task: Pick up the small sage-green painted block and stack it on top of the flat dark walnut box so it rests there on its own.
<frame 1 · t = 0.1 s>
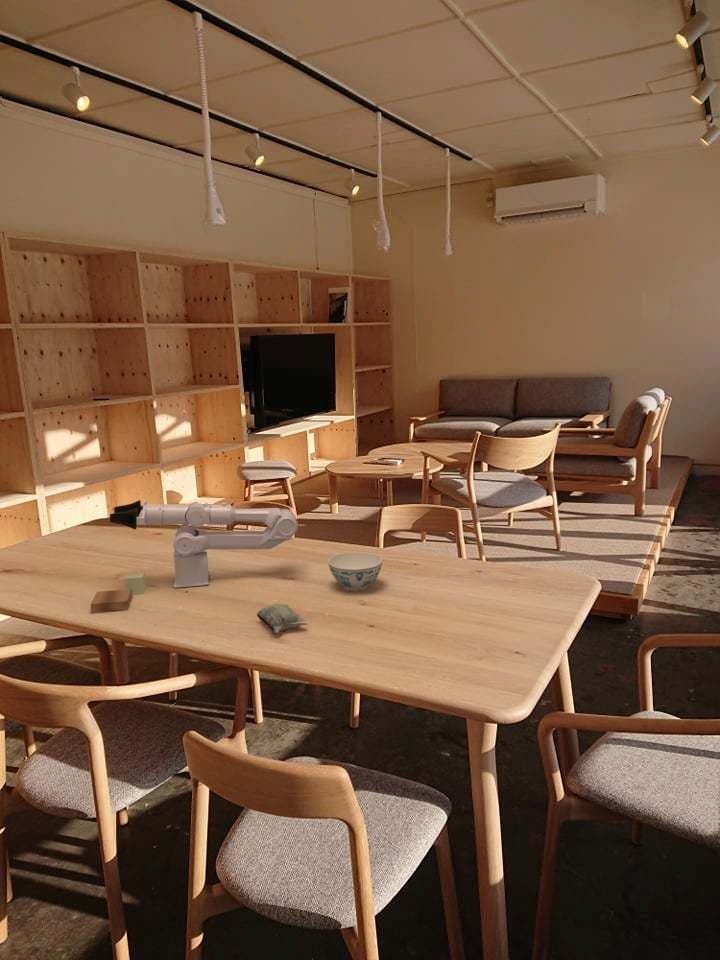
hand: (112, 514, 192), 22 cm above the table, fingers open, 7 cm apart
walnut box: (112, 607, 184), on the table
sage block: (136, 592, 194), on the table
packaged food: (282, 627, 169), on the table
chinaware: (356, 587, 194), on the table
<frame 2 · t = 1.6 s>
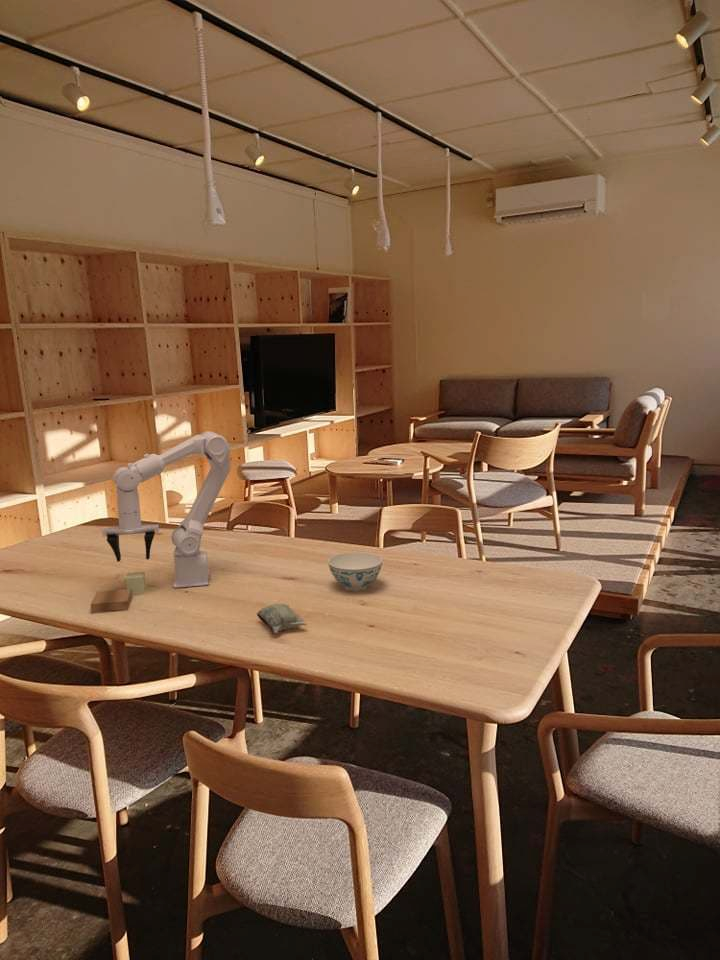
hand: (133, 559, 192), 9 cm above the table, fingers open, 7 cm apart
nothing on the table moved.
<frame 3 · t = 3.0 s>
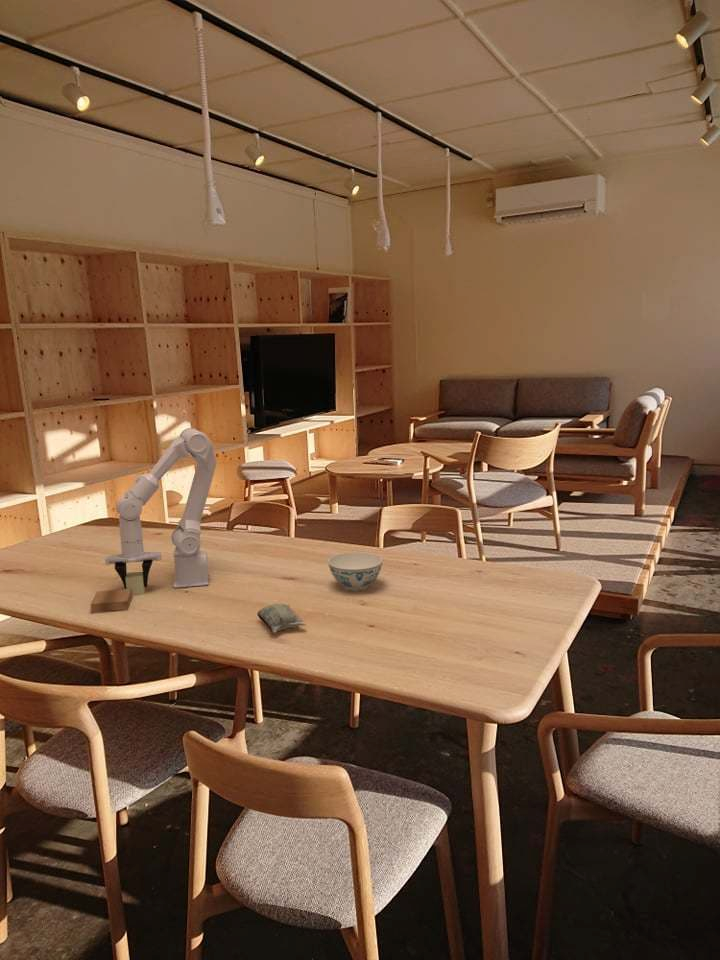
hand: (136, 587, 194), 1 cm above the table, fingers closed on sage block, 4 cm apart
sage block: (136, 591, 194), on the table, touching gripper
everything else where it was.
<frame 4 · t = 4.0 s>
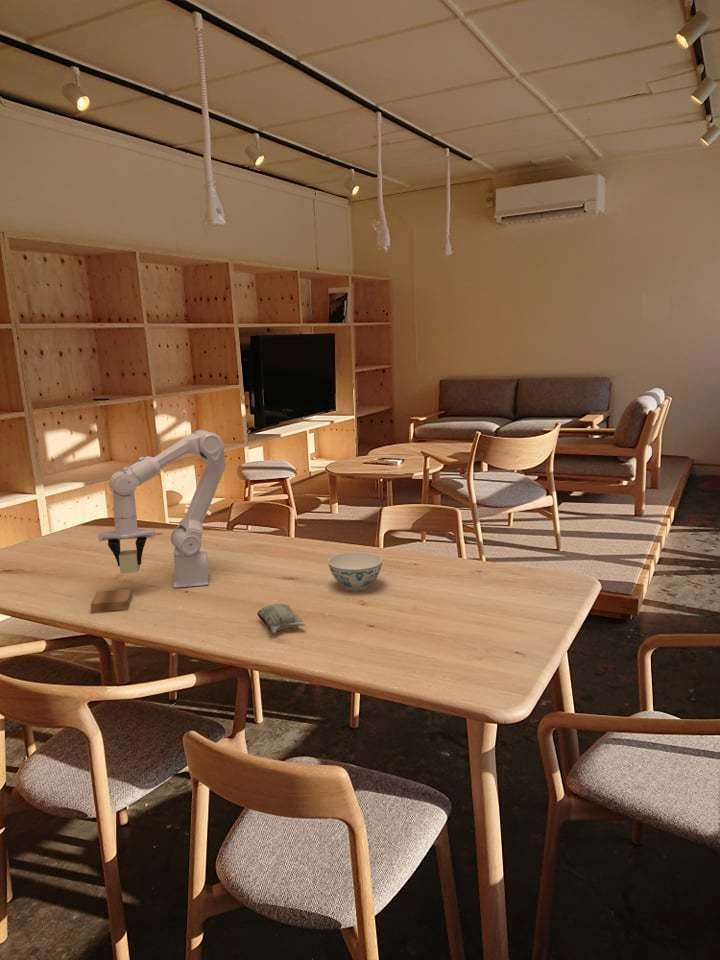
hand: (129, 564, 191), 8 cm above the table, fingers closed on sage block, 4 cm apart
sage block: (130, 570, 191), point 7 cm above the table, touching gripper
everything else where it was.
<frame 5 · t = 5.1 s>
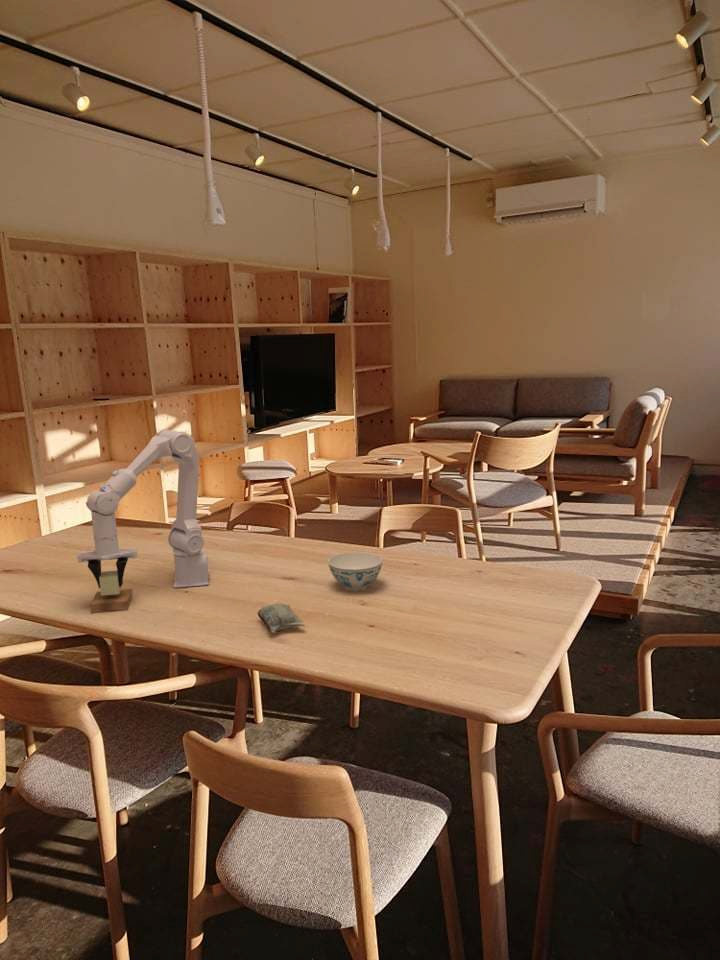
hand: (110, 586, 183), 5 cm above the table, fingers closed on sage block, 4 cm apart
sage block: (111, 591, 184), point 4 cm above the table, touching gripper
everything else where it was.
when the fingers open (5 cm above the table, at t = 5.4 s): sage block drops 1 cm, resting on walnut box.
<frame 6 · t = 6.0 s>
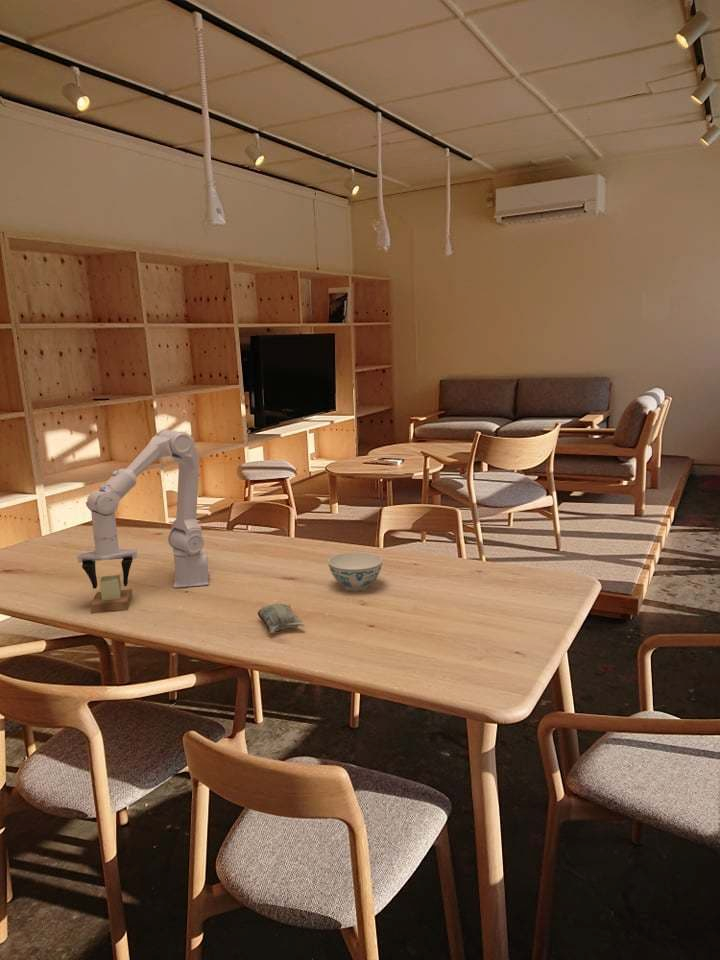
hand: (110, 586, 183), 5 cm above the table, fingers open, 7 cm apart
walnut box: (112, 607, 184), on the table, touching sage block
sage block: (111, 596, 184), point 2 cm above the table, touching walnut box
everything else where it was.
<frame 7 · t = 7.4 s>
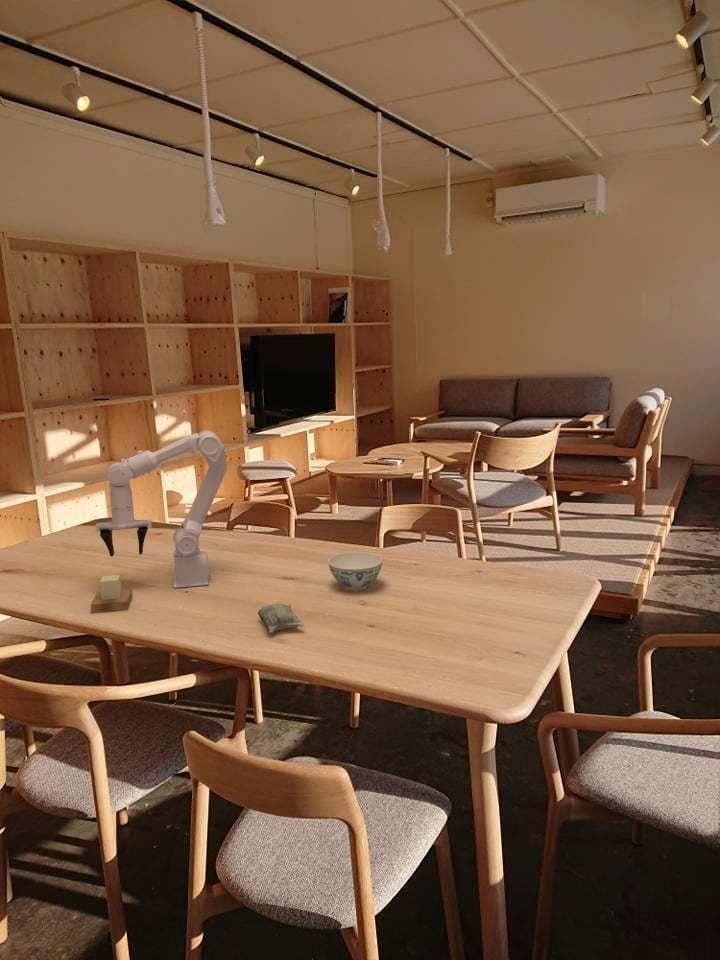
hand: (126, 554, 193), 10 cm above the table, fingers open, 7 cm apart
walnut box: (112, 607, 184), on the table
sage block: (111, 596, 184), point 2 cm above the table
everything else where it was.
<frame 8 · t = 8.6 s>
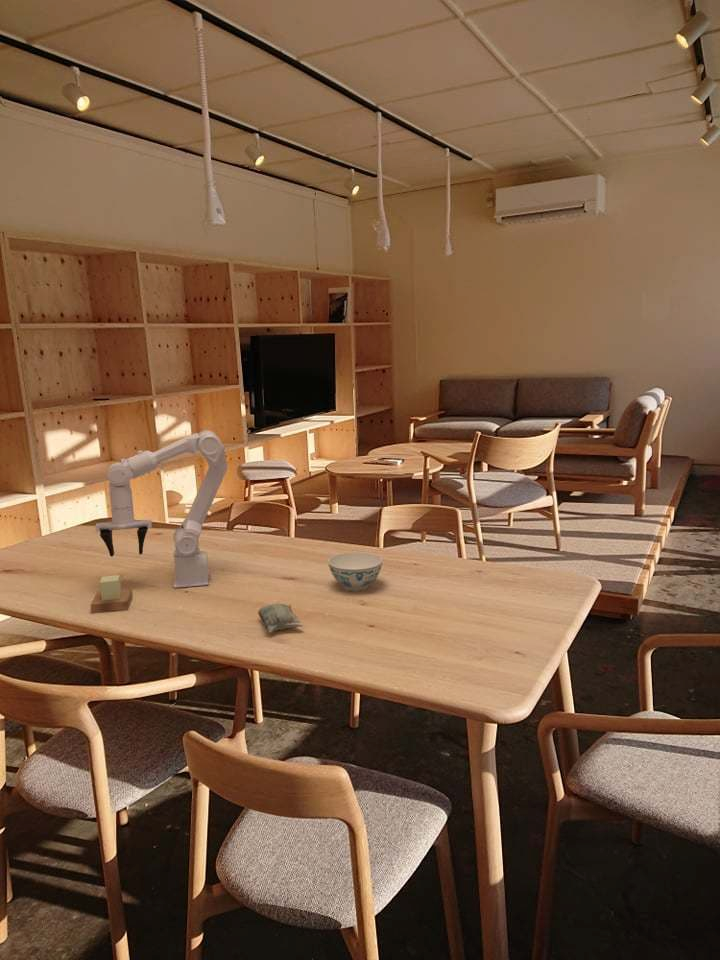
hand: (126, 554, 193), 10 cm above the table, fingers open, 7 cm apart
walnut box: (112, 607, 184), on the table, touching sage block
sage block: (111, 596, 184), point 2 cm above the table, touching walnut box
everything else where it was.
at the end: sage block inside the target area on the walnut box (0.1 cm from its centre), point 3.1 cm above the walnut box's base; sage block tilted 1°; the gripper is holding nothing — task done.
